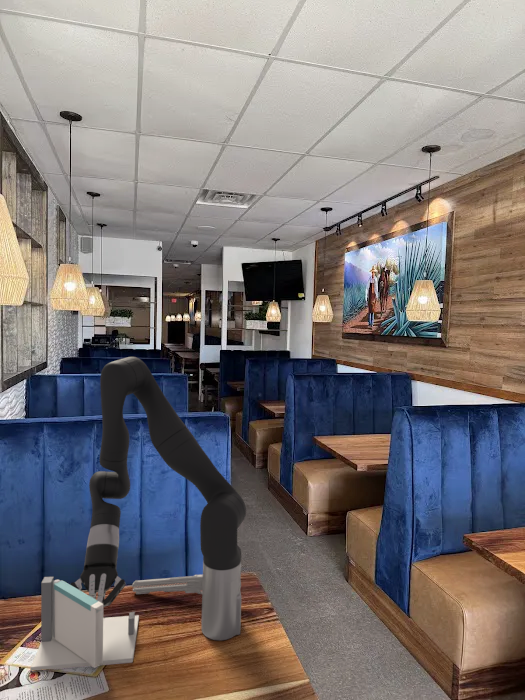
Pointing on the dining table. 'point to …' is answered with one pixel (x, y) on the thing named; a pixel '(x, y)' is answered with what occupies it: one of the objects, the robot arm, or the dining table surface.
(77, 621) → the gate panel
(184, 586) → the grey flat strip
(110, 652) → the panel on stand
